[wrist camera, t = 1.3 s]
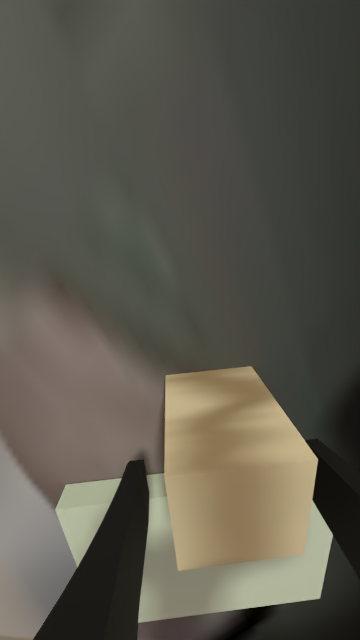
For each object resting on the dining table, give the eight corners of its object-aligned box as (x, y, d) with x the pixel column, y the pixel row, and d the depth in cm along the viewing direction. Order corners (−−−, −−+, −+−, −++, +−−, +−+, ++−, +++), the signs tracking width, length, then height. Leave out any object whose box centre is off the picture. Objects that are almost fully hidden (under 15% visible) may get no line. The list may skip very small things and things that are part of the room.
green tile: (328, 454, 15) (344, 475, 14) (308, 572, 20) (319, 598, 18) (66, 484, 15) (55, 509, 13) (105, 599, 19) (100, 627, 18)
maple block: (250, 365, 13) (317, 459, 7) (249, 433, 14) (304, 554, 9) (165, 374, 13) (164, 477, 7) (173, 441, 14) (178, 571, 9)
